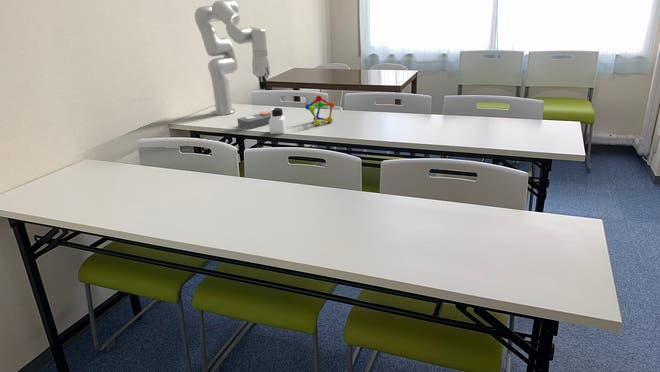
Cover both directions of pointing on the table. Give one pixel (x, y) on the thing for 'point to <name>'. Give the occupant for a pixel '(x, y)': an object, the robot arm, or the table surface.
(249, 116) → the grey button
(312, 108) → the educational toy
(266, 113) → the terracotta button
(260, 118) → the console
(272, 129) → the medicine bottle
